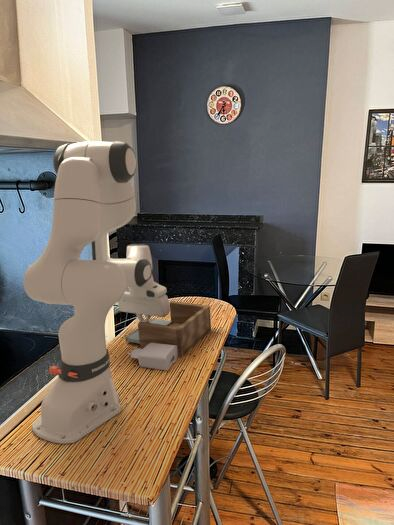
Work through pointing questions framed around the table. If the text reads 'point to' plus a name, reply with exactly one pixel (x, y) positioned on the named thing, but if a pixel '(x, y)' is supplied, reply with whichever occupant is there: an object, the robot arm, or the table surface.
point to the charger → (156, 355)
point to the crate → (178, 327)
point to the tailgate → (135, 335)
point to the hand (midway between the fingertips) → (144, 325)
